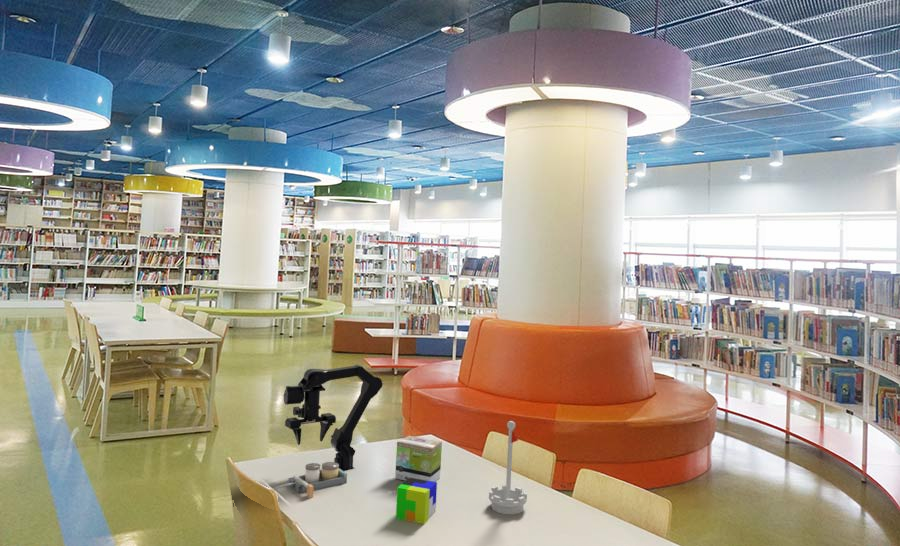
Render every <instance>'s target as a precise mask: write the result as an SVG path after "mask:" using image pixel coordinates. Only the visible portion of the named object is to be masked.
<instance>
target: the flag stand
mask: <svg viewBox="0 0 900 546" xmlns="http://www.w3.org/2000/svg"><path fill="white" fill-rule="evenodd" d="M506 428H507V429H508V439H507V440H508V441H507V461H506V481H505V483H506V484H505V485H504V484H503V485H502V486H501V487H500V488H499V486H497V485H495V486H491V489H489V491H488V499H489V501H490V502H491V509H492V510H493V511H494V512H497V513H499V514H503V515H517V514H521V513H522V512H523V511H524V505H525V504H527V500H528V499H527V498H528V493H527V491H523V488H521V487H518V486H515V487H514V489H513V488H511V485H512V484H511V483H512V481H511V480H512V462H513V461H512V460H513V444H514V443H515V442H517V441H519V439H518V437H517V436H516V434H515V433H514V429H516V422H514V421H513V420H510V421H507V423H506Z"/></svg>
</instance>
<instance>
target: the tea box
mask: <svg viewBox="0 0 900 546" xmlns="http://www.w3.org/2000/svg"><path fill="white" fill-rule="evenodd" d="M442 446H443V441H440V440H435V439H434V440H433V439H428V438H423V437H418V436H413V435H406V436H405V437H404V438H402V439H400V440H398V441H397V442H396V455H395V457H396V458H395V473H394V474H395V476H394V478H395V480H401V481H404V482H405V481H406V480H407V479H408V478H409V477H410V478H415V479H421V480H427V481H432V482H437V481H438V480H440V478H441V469H442V468H441V467H442V466H441V465H442V464H441V462H442V450H443V449H442Z"/></svg>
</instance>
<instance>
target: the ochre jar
mask: <svg viewBox="0 0 900 546" xmlns="http://www.w3.org/2000/svg"><path fill="white" fill-rule="evenodd" d="M338 468H339V464H338V463H335V462H334V461H327V462H324V463H322V464H321V472H322V480H321V481H325V480H330V479H335V478H338Z"/></svg>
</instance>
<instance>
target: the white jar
mask: <svg viewBox="0 0 900 546" xmlns="http://www.w3.org/2000/svg"><path fill="white" fill-rule="evenodd" d="M320 469H321V464H319V463H315V462H311V463H307V464H305V474H304V475H305V482H307V483H308V484H311V483H316V482H319V475H320V472H321V471H320Z"/></svg>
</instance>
